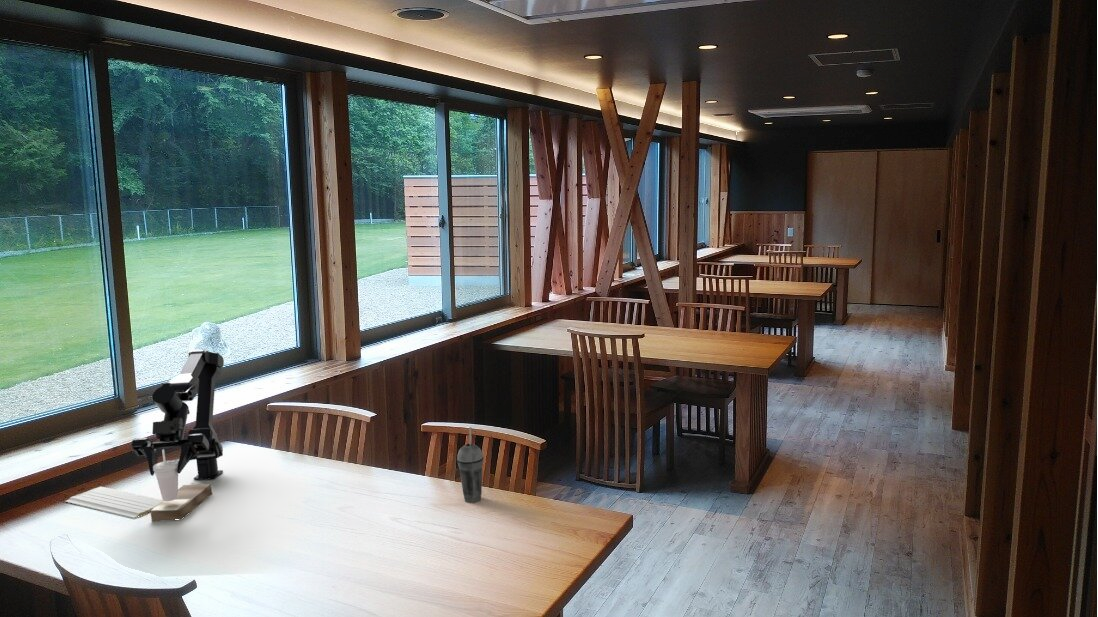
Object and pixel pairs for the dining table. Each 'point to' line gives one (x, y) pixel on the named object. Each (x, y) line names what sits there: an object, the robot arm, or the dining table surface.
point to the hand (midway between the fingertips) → (165, 473)
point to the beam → (181, 502)
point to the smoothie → (167, 478)
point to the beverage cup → (471, 471)
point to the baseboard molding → (115, 501)
